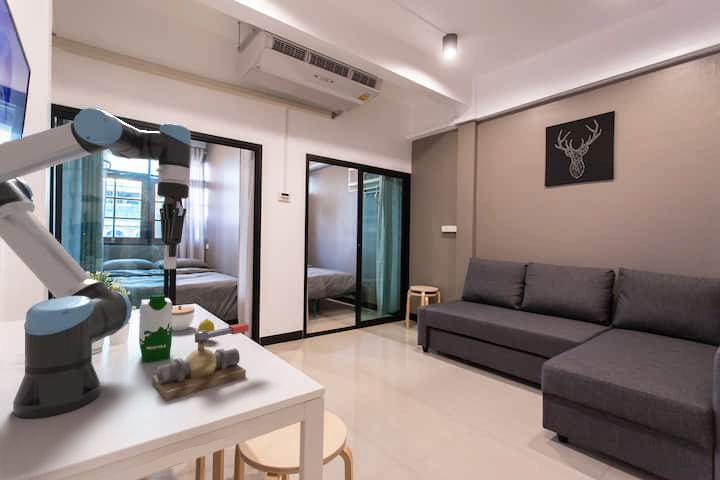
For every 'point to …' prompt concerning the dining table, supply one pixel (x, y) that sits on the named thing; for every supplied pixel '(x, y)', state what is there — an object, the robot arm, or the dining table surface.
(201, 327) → the lemon
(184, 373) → the valve rig
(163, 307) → the milk carton
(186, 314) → the lidded jar
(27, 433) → the dining table surface
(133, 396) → the dining table surface
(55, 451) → the dining table surface
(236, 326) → the lever
